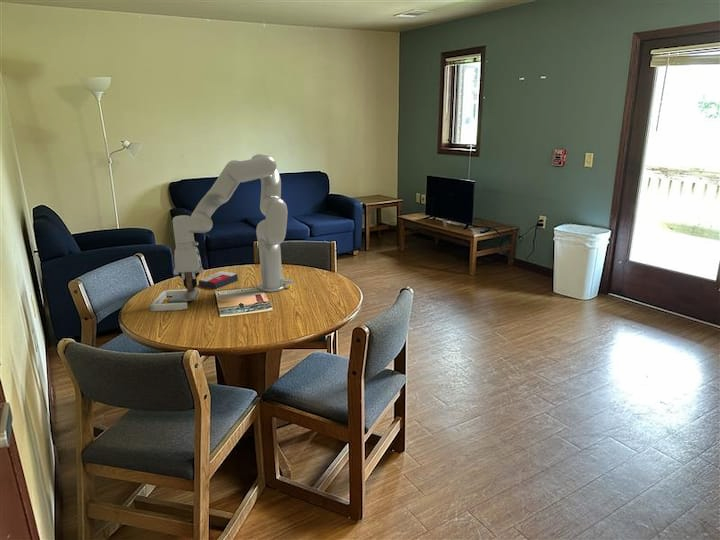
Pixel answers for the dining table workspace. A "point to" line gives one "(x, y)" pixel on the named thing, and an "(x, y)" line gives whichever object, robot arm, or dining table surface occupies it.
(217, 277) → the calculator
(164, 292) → the bay
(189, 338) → the dining table surface
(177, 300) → the tile
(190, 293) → the scraper
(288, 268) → the dining table surface
